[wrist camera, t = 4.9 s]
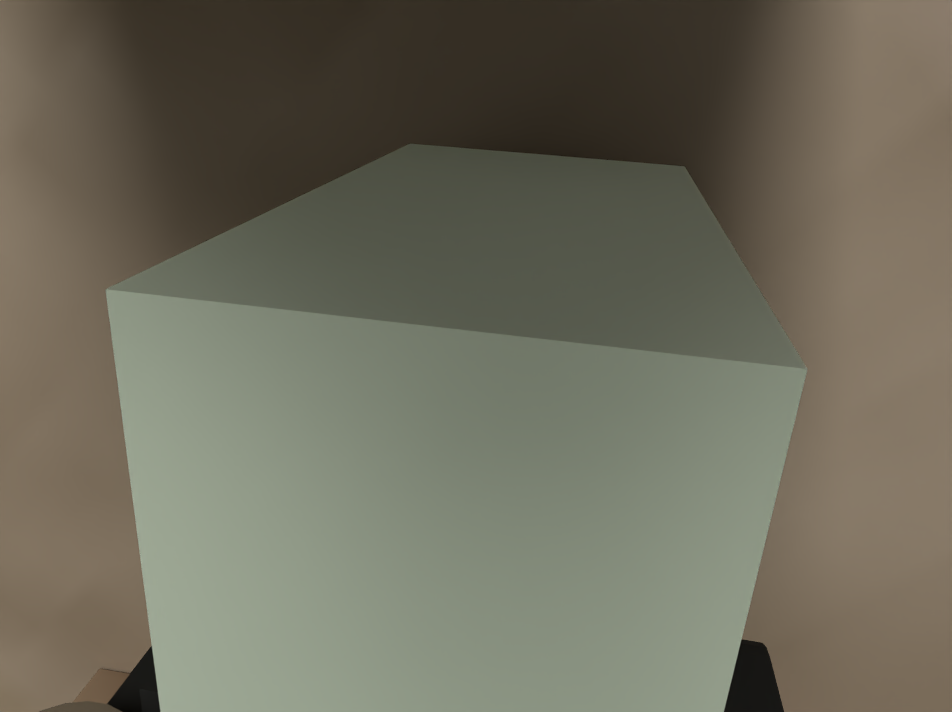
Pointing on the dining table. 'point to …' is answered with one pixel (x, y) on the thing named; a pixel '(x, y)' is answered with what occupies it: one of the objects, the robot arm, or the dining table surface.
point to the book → (455, 443)
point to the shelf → (102, 686)
